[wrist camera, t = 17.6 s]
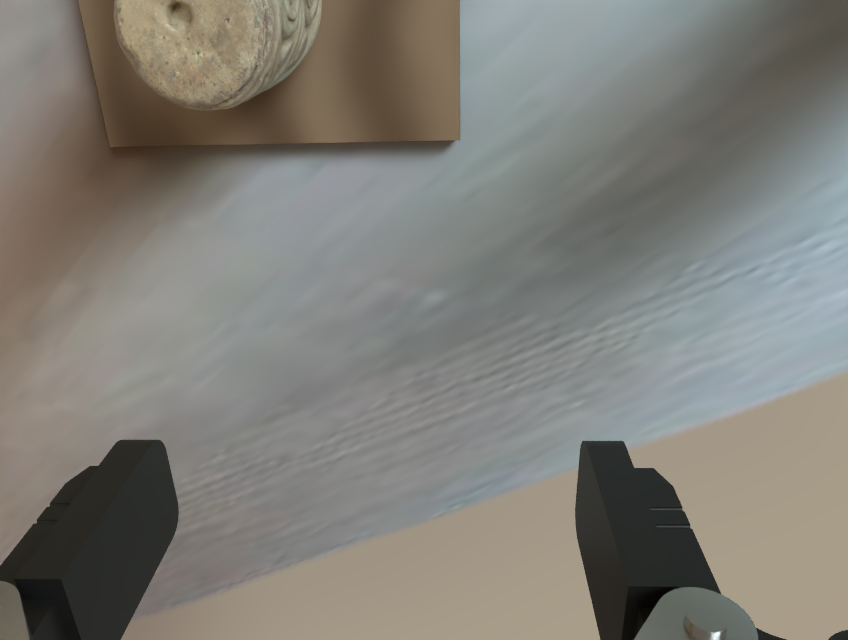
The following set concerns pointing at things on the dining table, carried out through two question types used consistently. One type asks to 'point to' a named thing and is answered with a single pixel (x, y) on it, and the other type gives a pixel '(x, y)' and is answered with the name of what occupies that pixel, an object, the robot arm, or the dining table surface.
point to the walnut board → (306, 83)
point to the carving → (215, 46)
